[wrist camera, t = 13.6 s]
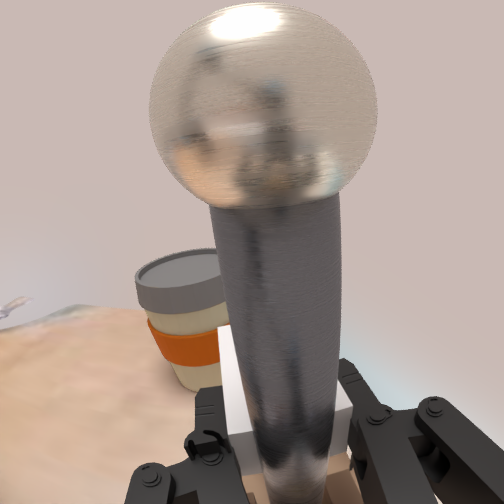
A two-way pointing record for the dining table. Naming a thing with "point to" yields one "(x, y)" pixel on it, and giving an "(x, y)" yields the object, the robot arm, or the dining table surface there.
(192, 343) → the reusable coffee cup
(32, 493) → the dining table surface
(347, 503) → the lever stand
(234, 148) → the lever
